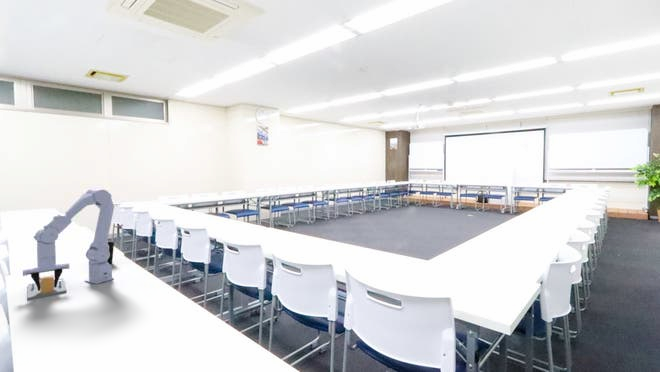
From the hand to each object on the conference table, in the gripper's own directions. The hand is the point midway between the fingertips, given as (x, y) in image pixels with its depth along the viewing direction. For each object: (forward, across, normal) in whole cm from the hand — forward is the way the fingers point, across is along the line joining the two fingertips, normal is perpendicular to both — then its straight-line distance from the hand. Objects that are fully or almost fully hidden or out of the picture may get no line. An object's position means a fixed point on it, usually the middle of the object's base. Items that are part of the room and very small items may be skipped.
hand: (47, 288), depth 130 cm
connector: (+1, 0, 0) cm, 1 cm away
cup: (+2, -26, -35) cm, 43 cm away
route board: (+2, 0, -6) cm, 7 cm away
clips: (+2, 0, -6) cm, 7 cm away
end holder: (+1, 0, -13) cm, 13 cm away
